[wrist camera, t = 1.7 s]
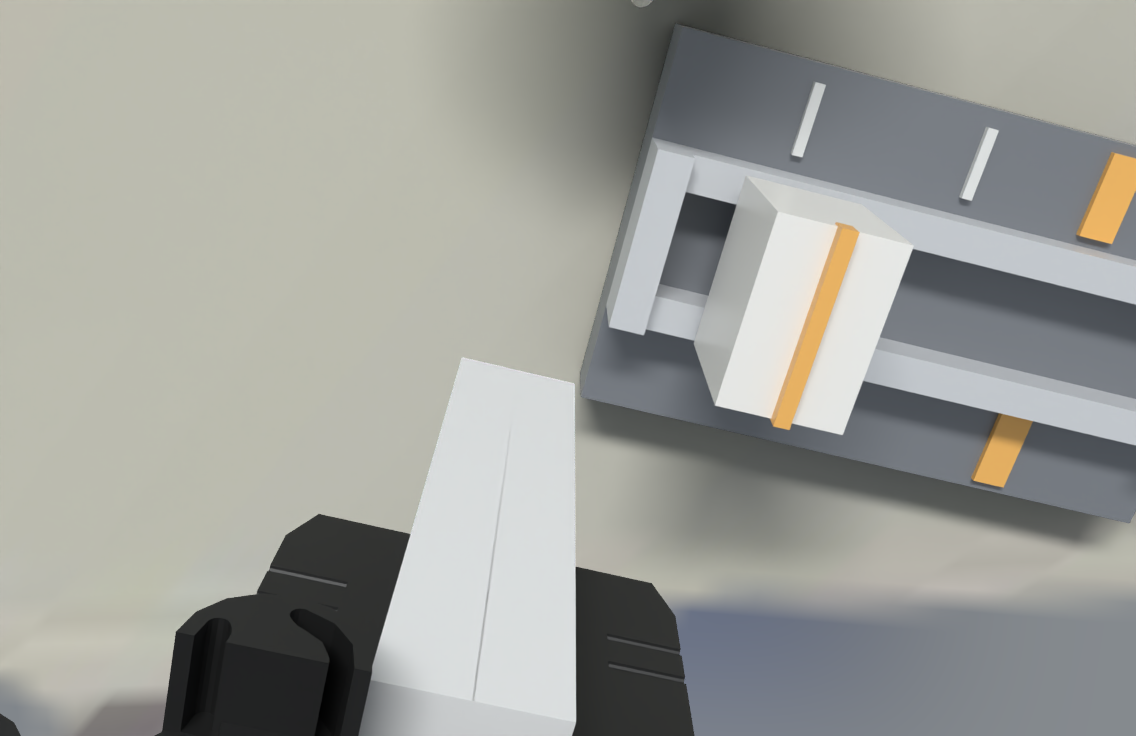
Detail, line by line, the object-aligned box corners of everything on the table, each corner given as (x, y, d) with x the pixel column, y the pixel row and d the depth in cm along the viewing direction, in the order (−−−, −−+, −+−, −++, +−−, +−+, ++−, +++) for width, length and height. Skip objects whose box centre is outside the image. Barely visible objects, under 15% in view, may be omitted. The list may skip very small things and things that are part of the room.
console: (580, 373, 33) (582, 423, 30) (675, 23, 30) (691, 30, 26) (1099, 493, 35) (1163, 556, 31) (1253, 176, 31) (1346, 204, 28)
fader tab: (686, 326, 30) (716, 413, 24) (736, 162, 29) (781, 212, 23) (791, 351, 31) (845, 443, 25) (847, 190, 29) (919, 247, 23)
